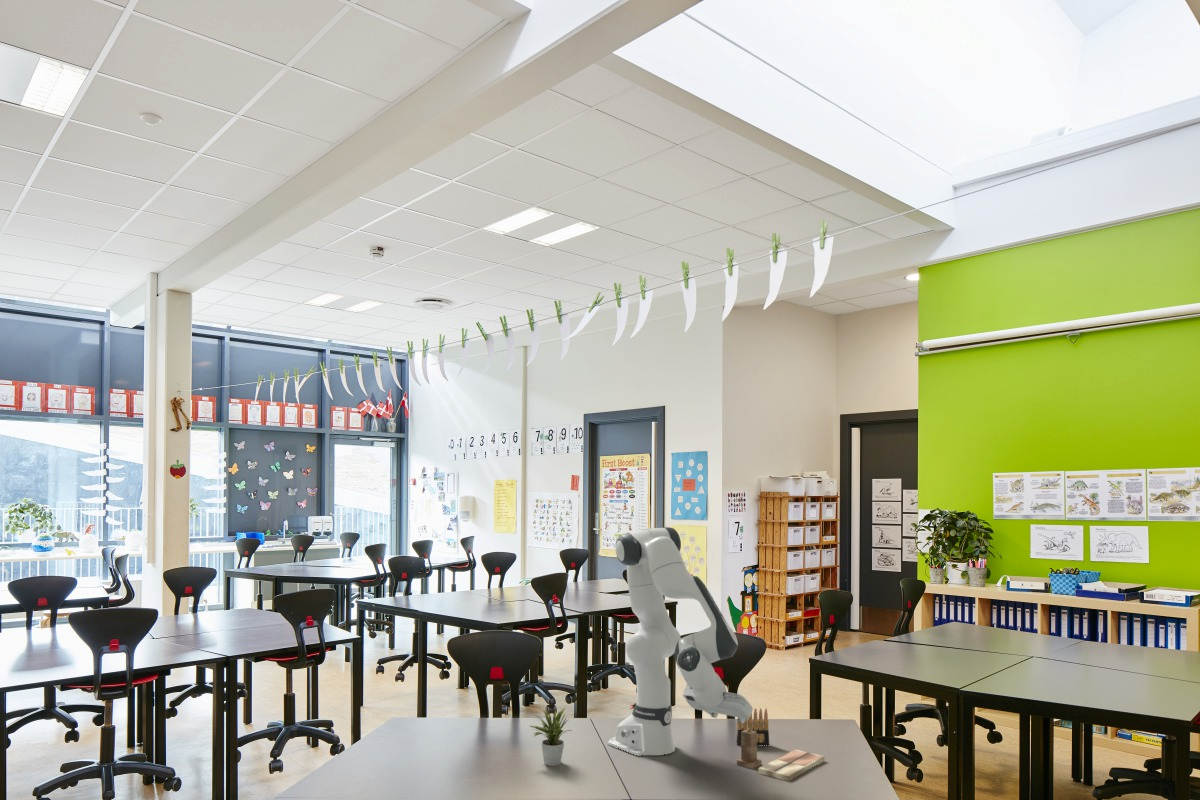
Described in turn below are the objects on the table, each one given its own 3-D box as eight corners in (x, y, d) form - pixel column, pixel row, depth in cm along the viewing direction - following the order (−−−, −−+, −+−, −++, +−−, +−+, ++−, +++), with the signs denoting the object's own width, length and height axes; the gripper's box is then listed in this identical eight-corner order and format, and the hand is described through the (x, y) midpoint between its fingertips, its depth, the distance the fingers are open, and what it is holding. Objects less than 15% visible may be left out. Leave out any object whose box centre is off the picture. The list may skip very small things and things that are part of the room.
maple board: (758, 773, 253) (758, 767, 253) (795, 754, 271) (795, 748, 272) (788, 781, 247) (788, 775, 247) (824, 761, 265) (824, 755, 265)
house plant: (541, 751, 270) (542, 699, 272) (581, 757, 266) (582, 704, 267) (522, 765, 257) (523, 710, 258) (564, 771, 252) (565, 715, 254)
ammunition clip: (768, 744, 281) (768, 707, 282) (769, 746, 279) (769, 709, 280) (736, 744, 281) (736, 707, 282) (737, 745, 279) (737, 708, 281)
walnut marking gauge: (736, 765, 260) (736, 728, 262) (745, 760, 265) (745, 724, 266) (752, 769, 257) (752, 732, 258) (761, 764, 261) (761, 728, 262)
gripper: (745, 686, 241) (763, 714, 248) (686, 676, 255) (704, 703, 261) (737, 706, 238) (755, 734, 244) (677, 694, 251) (696, 721, 257)
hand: (728, 718), depth 253 cm, fingers open, 8 cm apart
